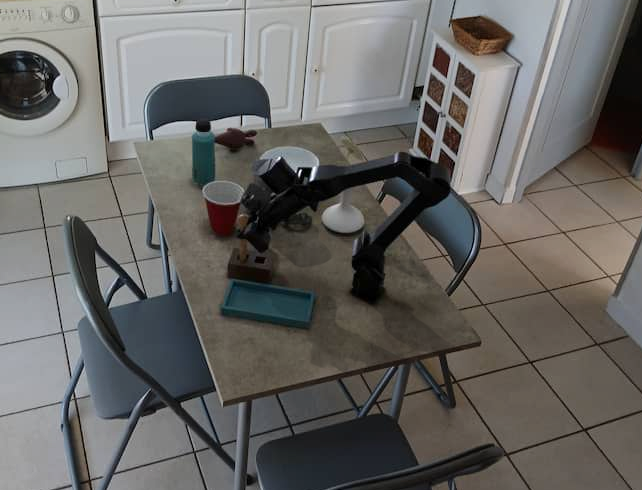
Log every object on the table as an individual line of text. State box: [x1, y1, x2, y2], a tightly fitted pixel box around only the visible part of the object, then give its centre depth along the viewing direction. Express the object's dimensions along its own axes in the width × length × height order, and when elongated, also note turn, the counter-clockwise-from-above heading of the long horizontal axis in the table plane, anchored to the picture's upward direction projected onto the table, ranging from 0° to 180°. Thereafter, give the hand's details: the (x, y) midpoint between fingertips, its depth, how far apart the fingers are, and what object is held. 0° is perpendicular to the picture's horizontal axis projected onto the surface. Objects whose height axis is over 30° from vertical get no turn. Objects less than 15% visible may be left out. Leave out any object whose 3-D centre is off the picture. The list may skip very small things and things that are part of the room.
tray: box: [220, 278, 316, 330], centre depth 171 cm, size 20×10×2 cm, turn 82°
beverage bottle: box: [191, 118, 216, 186], centre depth 203 cm, size 6×7×20 cm
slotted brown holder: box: [227, 247, 276, 285], centre depth 179 cm, size 10×6×4 cm, turn 82°
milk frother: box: [248, 159, 313, 226], centre depth 195 cm, size 14×16×15 cm
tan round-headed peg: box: [236, 213, 251, 261], centre depth 174 cm, size 3×2×14 cm, turn 82°
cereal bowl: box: [259, 146, 320, 185], centre depth 211 cm, size 17×17×7 cm
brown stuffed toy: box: [215, 127, 258, 152], centre depth 224 cm, size 7×7×15 cm
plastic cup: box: [201, 180, 245, 236], centre depth 190 cm, size 11×11×12 cm
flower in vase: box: [321, 135, 365, 234], centre depth 193 cm, size 13×11×25 cm
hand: (237, 235), depth 174 cm, fingers closed on tan round-headed peg, 1 cm apart
